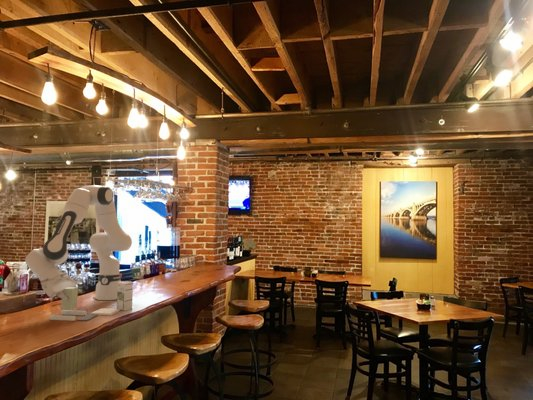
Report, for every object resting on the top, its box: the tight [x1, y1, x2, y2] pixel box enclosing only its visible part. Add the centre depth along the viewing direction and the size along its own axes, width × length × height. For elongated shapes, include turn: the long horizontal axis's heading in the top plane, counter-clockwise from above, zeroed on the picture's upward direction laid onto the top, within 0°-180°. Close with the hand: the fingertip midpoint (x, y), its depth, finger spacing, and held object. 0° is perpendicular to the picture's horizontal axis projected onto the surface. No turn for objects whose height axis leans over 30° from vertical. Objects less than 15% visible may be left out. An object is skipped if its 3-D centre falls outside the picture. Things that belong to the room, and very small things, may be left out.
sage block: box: [60, 286, 79, 311], centre depth 191 cm, size 5×5×10 cm
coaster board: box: [90, 307, 120, 317], centre depth 200 cm, size 10×10×1 cm
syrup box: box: [116, 280, 134, 312], centre depth 209 cm, size 6×6×14 cm
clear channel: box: [49, 310, 99, 322], centre depth 190 cm, size 11×18×2 cm, turn 87°
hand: (70, 298), depth 191 cm, fingers closed on sage block, 5 cm apart
